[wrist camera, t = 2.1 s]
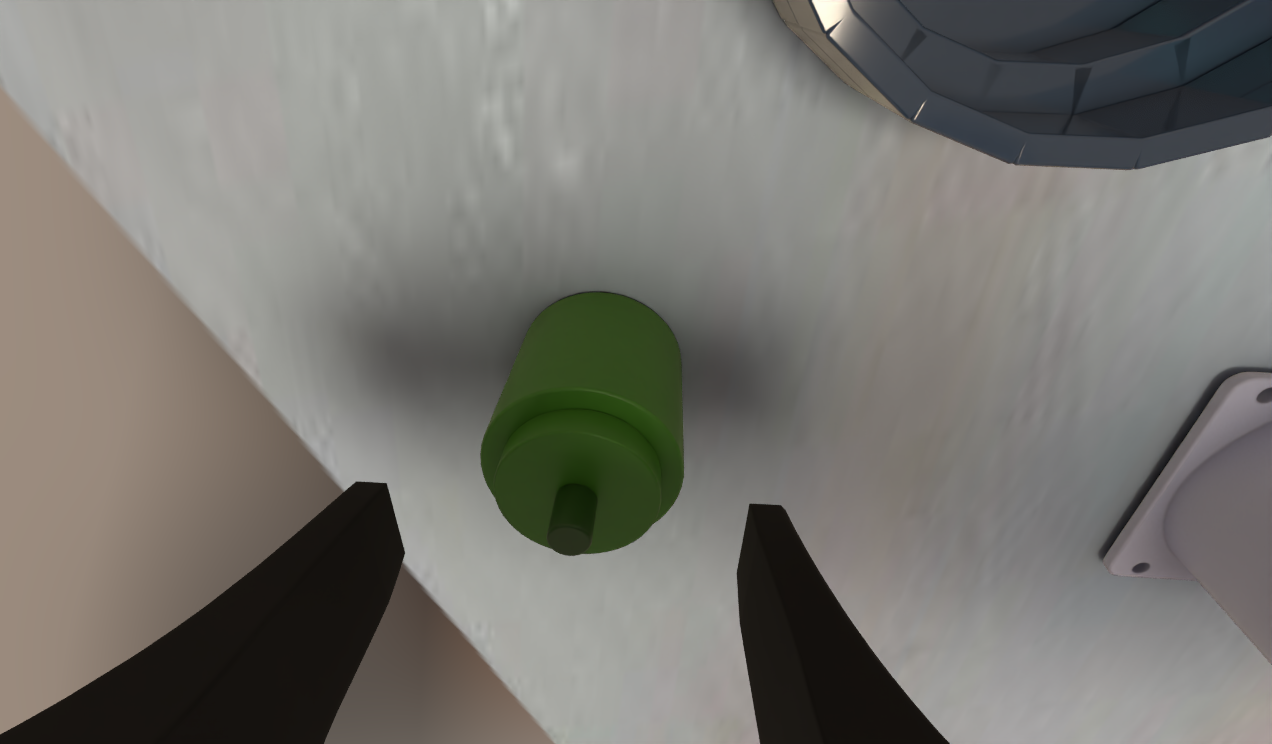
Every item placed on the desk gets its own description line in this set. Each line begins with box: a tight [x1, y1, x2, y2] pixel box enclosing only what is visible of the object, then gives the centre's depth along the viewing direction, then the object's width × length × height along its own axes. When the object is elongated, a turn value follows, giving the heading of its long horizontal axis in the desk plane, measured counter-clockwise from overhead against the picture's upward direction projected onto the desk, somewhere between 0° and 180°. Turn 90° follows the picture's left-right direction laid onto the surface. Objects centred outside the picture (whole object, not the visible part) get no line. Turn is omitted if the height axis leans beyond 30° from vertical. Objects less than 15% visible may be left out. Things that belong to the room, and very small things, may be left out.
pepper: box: [480, 292, 684, 556], centre depth 15 cm, size 5×5×7 cm
